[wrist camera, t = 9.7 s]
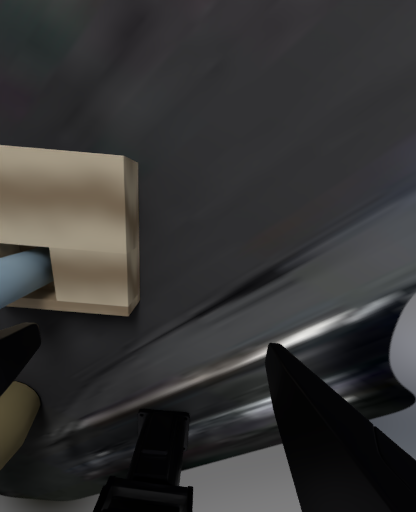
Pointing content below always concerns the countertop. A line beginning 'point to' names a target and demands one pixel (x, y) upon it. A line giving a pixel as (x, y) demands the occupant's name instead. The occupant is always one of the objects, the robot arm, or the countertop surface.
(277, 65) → the countertop surface
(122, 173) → the board
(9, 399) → the squeeze bottle
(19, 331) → the robot arm
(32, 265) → the peg
